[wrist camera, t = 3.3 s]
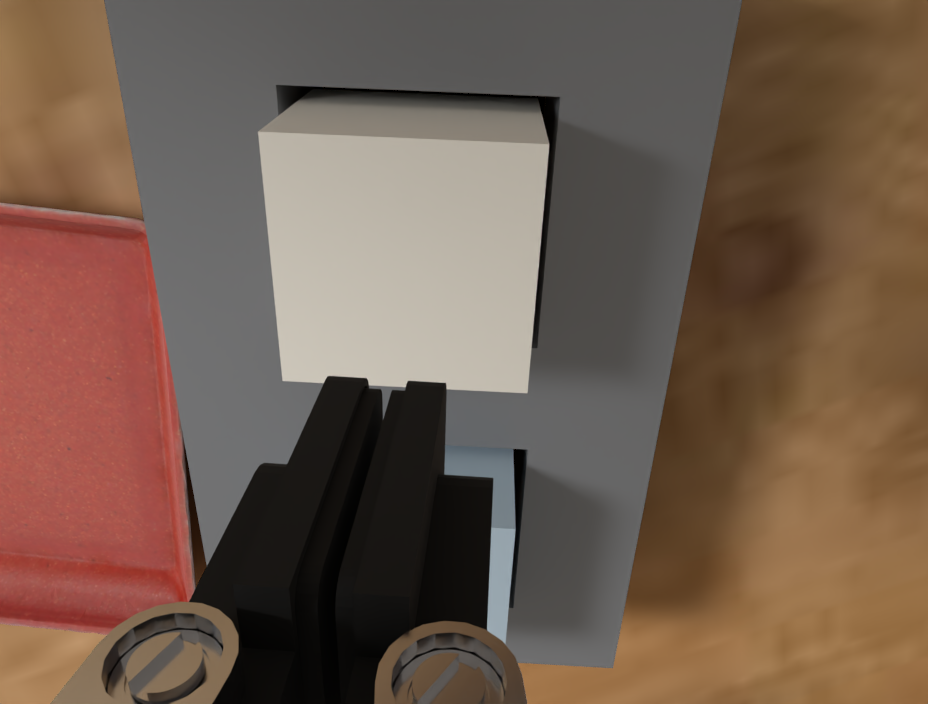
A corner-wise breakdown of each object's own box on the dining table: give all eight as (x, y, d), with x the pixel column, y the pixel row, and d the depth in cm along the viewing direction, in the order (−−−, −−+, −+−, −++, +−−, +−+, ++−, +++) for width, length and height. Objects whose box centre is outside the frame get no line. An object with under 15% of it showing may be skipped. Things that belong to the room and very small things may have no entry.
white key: (312, 88, 19) (258, 131, 15) (538, 98, 19) (549, 144, 15) (325, 294, 22) (282, 381, 18) (521, 303, 22) (527, 393, 17)
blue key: (333, 412, 24) (295, 517, 20) (512, 421, 24) (515, 529, 19) (341, 547, 27) (310, 665, 22) (502, 556, 27) (502, 676, 22)
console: (181, -54, 20) (94, -54, 16) (693, -35, 20) (747, -29, 16) (260, 546, 31) (220, 645, 27) (596, 564, 31) (612, 667, 26)
